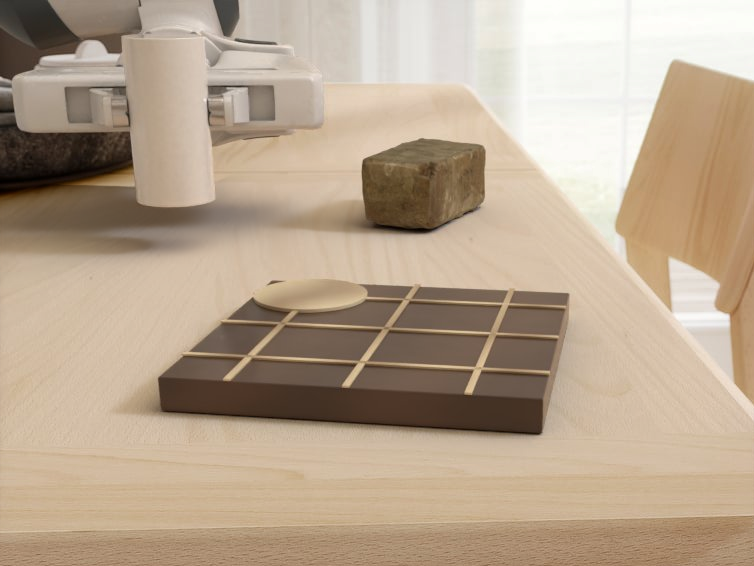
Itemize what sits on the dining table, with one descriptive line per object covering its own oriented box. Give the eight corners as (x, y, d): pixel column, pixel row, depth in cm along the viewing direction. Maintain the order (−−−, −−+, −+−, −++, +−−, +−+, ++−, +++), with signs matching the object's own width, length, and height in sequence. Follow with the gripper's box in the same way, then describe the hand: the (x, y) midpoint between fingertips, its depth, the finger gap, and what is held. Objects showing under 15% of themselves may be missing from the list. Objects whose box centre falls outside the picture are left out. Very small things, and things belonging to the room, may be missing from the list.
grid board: (160, 411, 49) (156, 372, 48) (273, 306, 63) (271, 276, 63) (542, 434, 47) (543, 394, 46) (568, 320, 61) (570, 288, 60)
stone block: (357, 228, 82) (355, 155, 80) (419, 200, 92) (419, 134, 90) (434, 235, 80) (434, 160, 78) (489, 205, 90) (490, 138, 88)
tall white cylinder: (123, 205, 74) (107, 37, 70) (154, 191, 78) (140, 32, 74) (199, 208, 73) (187, 39, 69) (226, 194, 77) (215, 34, 74)
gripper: (21, 43, 82) (-15, 60, 70) (313, 43, 86) (330, 59, 73) (32, 136, 85) (0, 167, 72) (316, 132, 88) (332, 161, 76)
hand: (169, 113), depth 73 cm, fingers closed on tall white cylinder, 5 cm apart
